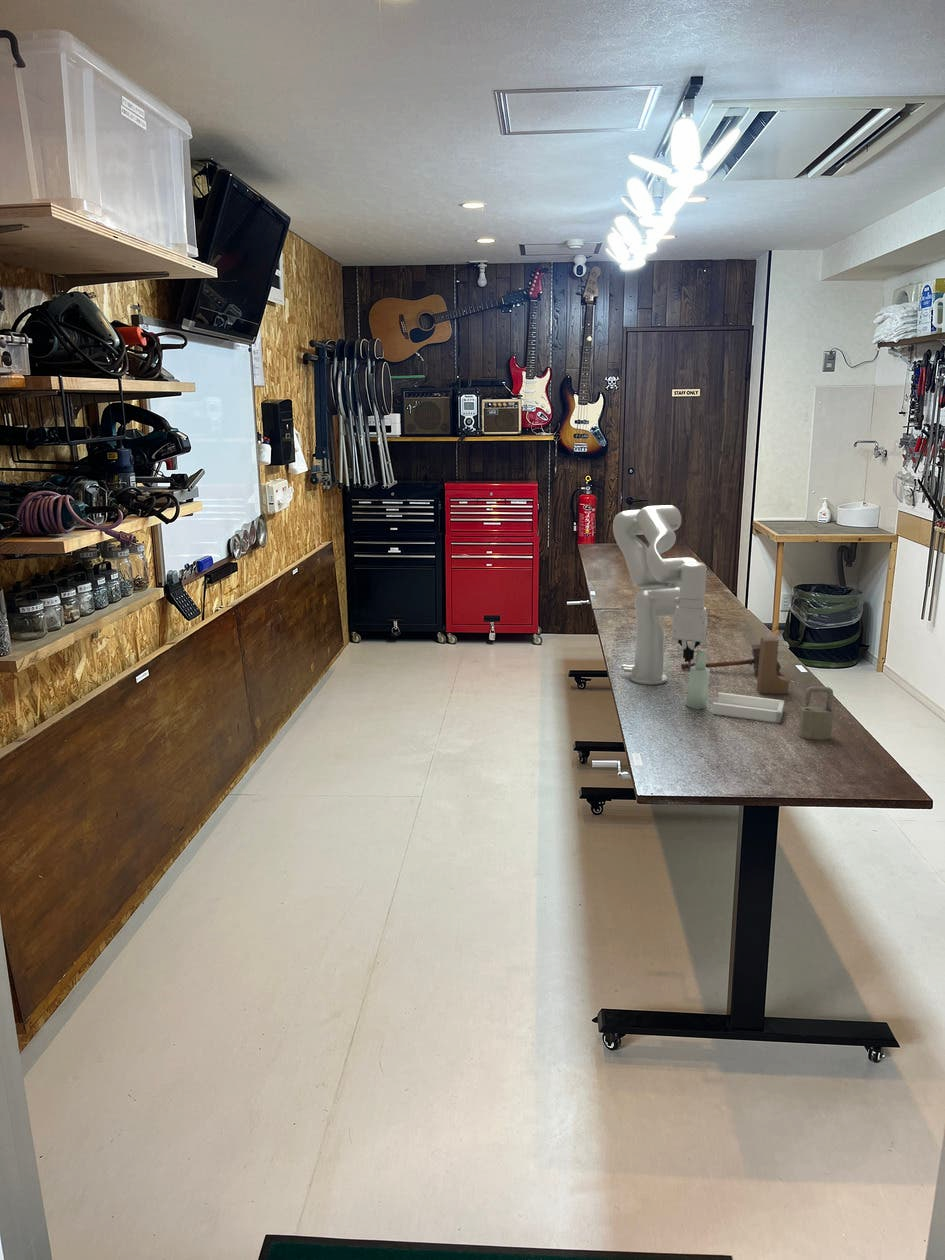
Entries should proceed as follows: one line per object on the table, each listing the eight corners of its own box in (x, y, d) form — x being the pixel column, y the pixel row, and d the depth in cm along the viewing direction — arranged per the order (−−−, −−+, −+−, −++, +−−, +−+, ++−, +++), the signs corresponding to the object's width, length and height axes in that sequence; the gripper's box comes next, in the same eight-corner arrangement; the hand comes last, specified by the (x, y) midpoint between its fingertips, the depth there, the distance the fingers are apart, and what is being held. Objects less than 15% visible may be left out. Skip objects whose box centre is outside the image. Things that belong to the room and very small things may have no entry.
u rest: (712, 714, 274) (713, 703, 273) (718, 702, 284) (719, 692, 283) (780, 723, 267) (781, 712, 266) (783, 711, 277) (784, 700, 276)
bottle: (684, 706, 280) (690, 651, 275) (687, 700, 285) (694, 646, 280) (704, 710, 278) (710, 654, 273) (707, 704, 283) (713, 649, 278)
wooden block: (783, 689, 296) (788, 636, 292) (788, 694, 292) (793, 640, 287) (756, 689, 296) (760, 636, 291) (760, 694, 292) (765, 640, 287)
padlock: (798, 733, 259) (803, 684, 255) (827, 734, 258) (833, 685, 254) (801, 738, 255) (806, 688, 251) (831, 740, 254) (836, 689, 250)
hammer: (781, 674, 307) (778, 646, 305) (684, 686, 315) (680, 659, 313) (779, 668, 314) (775, 641, 312) (683, 680, 322) (679, 653, 319)
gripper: (664, 603, 274) (661, 661, 278) (714, 607, 268) (710, 667, 272) (669, 598, 280) (666, 655, 285) (718, 602, 274) (714, 660, 279)
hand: (688, 660), depth 279 cm, fingers closed
